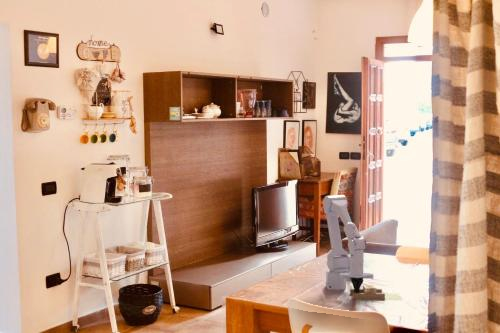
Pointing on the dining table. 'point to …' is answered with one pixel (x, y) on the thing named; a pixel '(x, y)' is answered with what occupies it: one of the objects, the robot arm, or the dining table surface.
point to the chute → (374, 295)
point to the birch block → (369, 289)
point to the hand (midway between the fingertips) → (356, 294)
